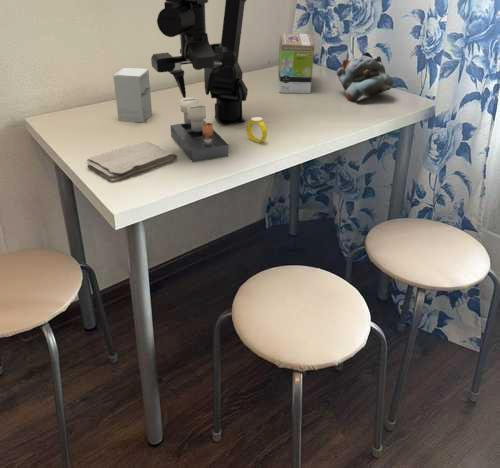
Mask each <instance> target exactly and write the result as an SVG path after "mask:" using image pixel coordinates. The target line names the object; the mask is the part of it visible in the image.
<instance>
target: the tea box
mask: <svg viewBox="0 0 500 468" xmlns="http://www.w3.org/2000/svg"><path fill="white" fill-rule="evenodd" d="M314 54H315V43H314V40H313V38H312V35H311V34H310V33H280V35H279V48H278V70H277V71H278V76H277V77H278V80H277V81H278V91H279V93H281V94H282V93H283V94H286V93H287V94H311V92H312V81H313V79H312V78H313V70H314V69H313V67H314V56H315V55H314Z"/></svg>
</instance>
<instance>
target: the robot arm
mask: <svg viewBox="0 0 500 468" xmlns="http://www.w3.org/2000/svg"><path fill="white" fill-rule="evenodd" d="M246 2H247V0H225V4H224V14H223V20H222V21H223V23H222V29H221V30H222V31H221V39H220V43H219V42H217V43H211V44H210V42H209V36H208V33H207V28H206V4H207V3H209V0H165V2H164V8H162V9H161V10H160V11H159V13H158V15H157V19H156V23H157V27H158V30H159V31H160V33H162V35H164V36H166V37H169V38H175V37H177V36H179V37H180V48H179V53H180V55H178V56H177V55H175V56H173V55H172V54H170V53H169V52H163V53H162V52H160V53H159V52H158V53H154V54H152V56H151V58H150V59H151V60H150V62H151V67H152V68H153V69H154V70H155V71H156V72H158V73H170V75H172V76H173V78H174V80H175V82H176V84H177V86H178V88H179V91H180V93H181V96H182V98H187V96H186V95H187V94H186V93H187V92H186V85H185V78H184V77H185V76H184V75H185V70H183V69H182V65H192V68H193V69H194V70H196V71H199V70H202V69H204V90H205V95H206V96H209V94H210V98H211V99H215V100H216V102H215V103H214V118H215V119H216V120H217V122H219V124H221V125H222V126H226V125H233V124H239V123H245V119H244V118H243V102H245V101H247V97H248V88H247V86H246V84H245V82H244V81H243V71H242V69H241V65H240V64H239V54H240V45H241V38H242V37H241V36H242V29H243V19H244V11H245V4H246Z"/></svg>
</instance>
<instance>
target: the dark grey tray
mask: <svg viewBox="0 0 500 468" xmlns="http://www.w3.org/2000/svg"><path fill="white" fill-rule="evenodd" d="M204 123H207V122H206V121H205V119H204V120H203V124H204ZM170 137H171V138H172V139H173V140H174V141H175V143H176V144H177V145H178V147H179V148H180V149H181V150H182V152H183V153H184V154H185V155H186V157H187V158H188V159H189V160H190V161H191V163H197V162H204V161H210V160H213V159H215V160H216V159H220V158H226V157H229V156H230V155H229V143H227V141H225V140H224V138H223V137H221V135H220V134H218V133H217V132H216V131H215V130H214V129H213V138H211V144H212V145H211V146H205V140H204V138H203V133H202V131H192V130H191V124H187V123H185V122H184V123H183V122H182V123H177V124H170Z"/></svg>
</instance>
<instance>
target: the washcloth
mask: <svg viewBox="0 0 500 468" xmlns="http://www.w3.org/2000/svg"><path fill="white" fill-rule="evenodd" d="M177 159H178V154H177V153H175V152H173V151H171V150H168V149H166V148H162V147H160V146H159V145H157V144H155V143H153V142H151V141H148V140H143V141H141V142H137V143H134V144H131V145H125V146H122V147H120V148H117V149H114V150H113V149H112V150H111V151H107V152H104V153H101V154H97V155H95V156H91V157H89V158H87V159H86V160H87V162H86V164H87V168H90V170H91V171H92V172H93V173H95V174H97V175H98V176H101V177H102V178H104V179H105V180H107V181H109V182H111V183H113V182H121V181H124V180H127V179H131V178H134V177H136V176H139V175H142V174H144V173H147V172H149V171H153V170H155V169H158V168H160V167H163V166H166V165H169V164H173V163H174V162H175V161H176V160H177Z"/></svg>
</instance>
